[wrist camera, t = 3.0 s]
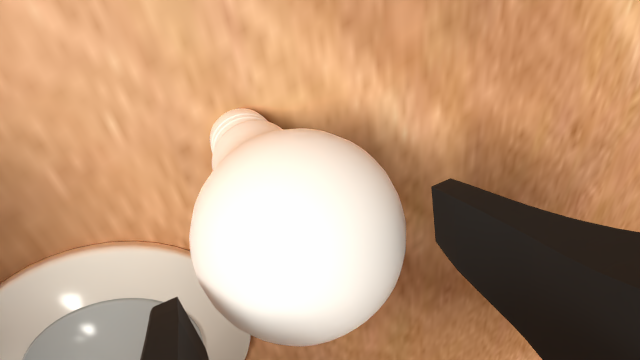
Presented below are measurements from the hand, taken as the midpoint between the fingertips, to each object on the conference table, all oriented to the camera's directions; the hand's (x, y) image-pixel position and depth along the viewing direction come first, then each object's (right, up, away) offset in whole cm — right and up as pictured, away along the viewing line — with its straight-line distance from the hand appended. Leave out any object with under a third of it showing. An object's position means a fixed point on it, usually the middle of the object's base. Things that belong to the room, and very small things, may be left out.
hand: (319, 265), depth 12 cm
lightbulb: (-4, +4, +8) cm, 10 cm away
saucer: (-10, -6, +11) cm, 16 cm away
